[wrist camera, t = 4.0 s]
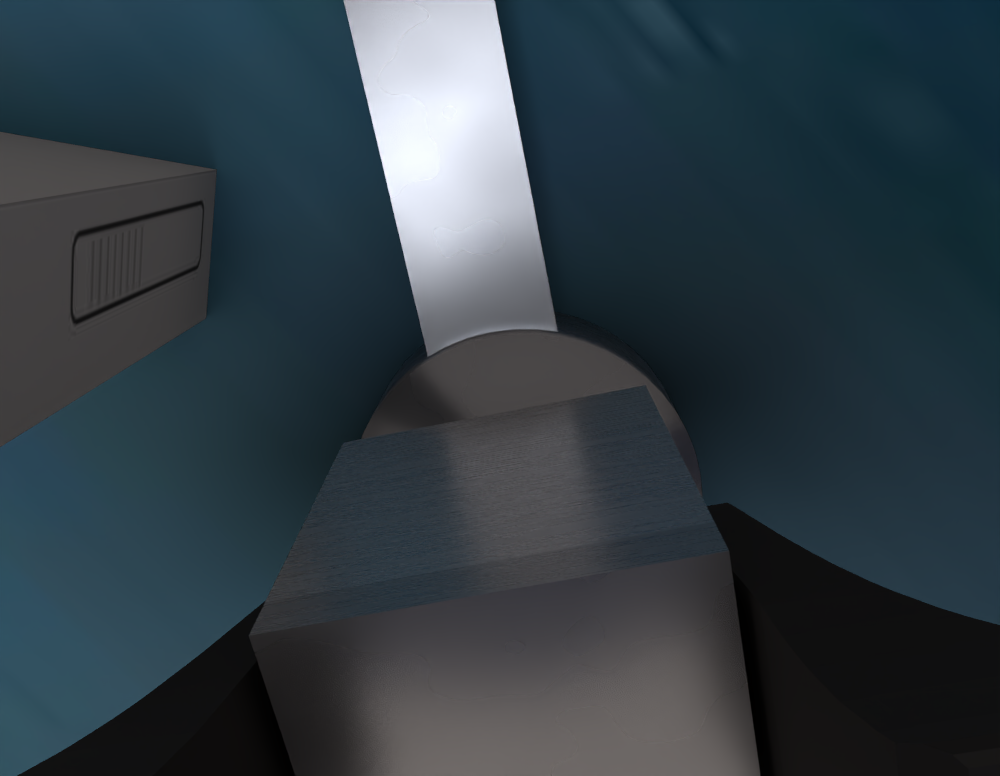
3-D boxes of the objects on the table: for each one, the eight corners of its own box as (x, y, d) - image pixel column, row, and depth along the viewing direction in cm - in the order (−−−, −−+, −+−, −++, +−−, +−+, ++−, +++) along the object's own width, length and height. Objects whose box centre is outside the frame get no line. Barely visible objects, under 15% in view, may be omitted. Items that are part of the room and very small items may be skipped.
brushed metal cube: (645, 385, 13) (729, 551, 8) (687, 649, 14) (782, 926, 9) (343, 443, 13) (249, 635, 8) (413, 695, 15) (366, 988, 10)
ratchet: (701, 572, 17) (755, 708, 13) (409, 622, 18) (376, 766, 14) (499, -729, 12) (486, -1164, 8) (82, -605, 12) (-131, -953, 8)
